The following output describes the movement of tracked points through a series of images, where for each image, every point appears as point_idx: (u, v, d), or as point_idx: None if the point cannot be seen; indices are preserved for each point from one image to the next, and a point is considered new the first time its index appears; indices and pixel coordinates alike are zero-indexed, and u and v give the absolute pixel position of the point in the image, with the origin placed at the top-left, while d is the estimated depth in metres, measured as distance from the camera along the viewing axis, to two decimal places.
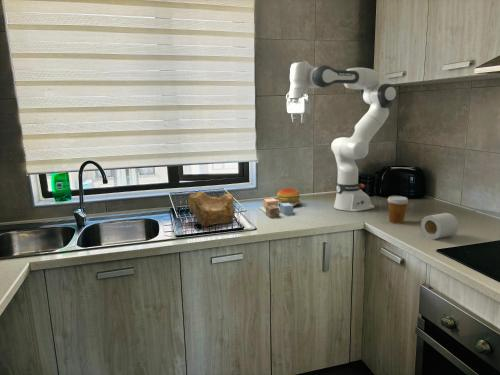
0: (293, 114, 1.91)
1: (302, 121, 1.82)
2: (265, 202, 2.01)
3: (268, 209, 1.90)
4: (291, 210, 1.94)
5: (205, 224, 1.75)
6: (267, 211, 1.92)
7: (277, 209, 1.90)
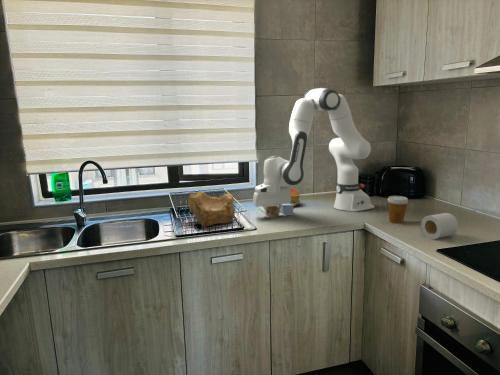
0: None
1: None
2: None
3: (268, 209, 1.90)
4: (291, 210, 1.94)
5: (205, 224, 1.75)
6: None
7: (277, 209, 1.89)
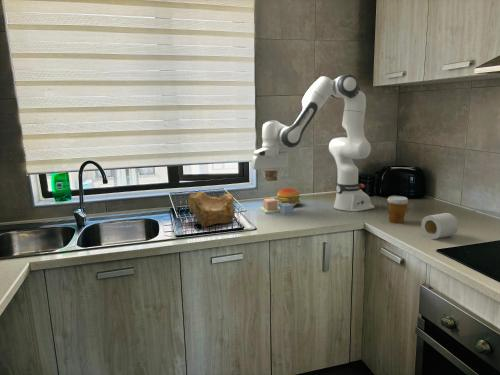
0: None
1: None
2: (265, 202, 2.01)
3: (266, 172, 1.97)
4: (291, 210, 1.94)
5: (205, 224, 1.75)
6: None
7: (275, 172, 1.96)
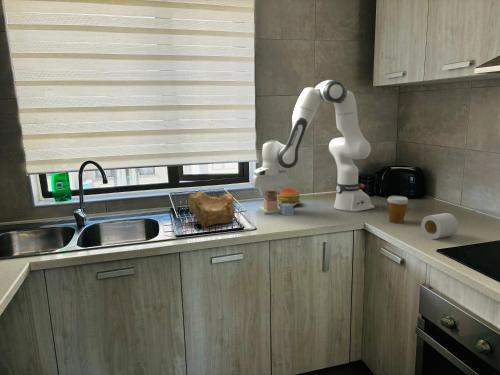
0: None
1: None
2: (265, 202, 2.01)
3: (266, 193, 1.99)
4: (291, 210, 1.94)
5: (205, 224, 1.75)
6: (265, 195, 2.01)
7: (275, 193, 1.98)
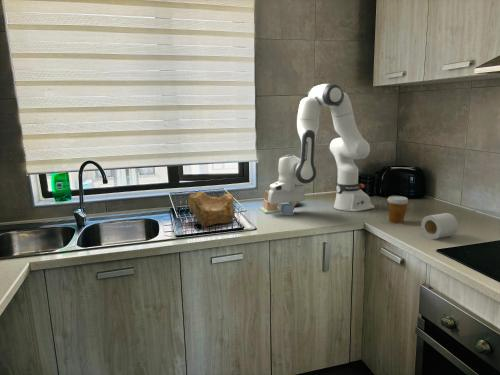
0: None
1: None
2: (265, 202, 2.01)
3: (266, 193, 1.99)
4: (291, 209, 1.94)
5: (205, 224, 1.75)
6: (265, 195, 2.01)
7: None
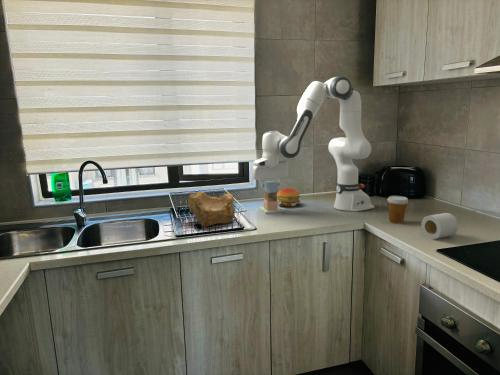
0: None
1: None
2: (265, 202, 2.01)
3: (266, 193, 1.99)
4: (275, 187, 1.97)
5: (205, 224, 1.75)
6: (265, 195, 2.01)
7: (275, 193, 1.98)
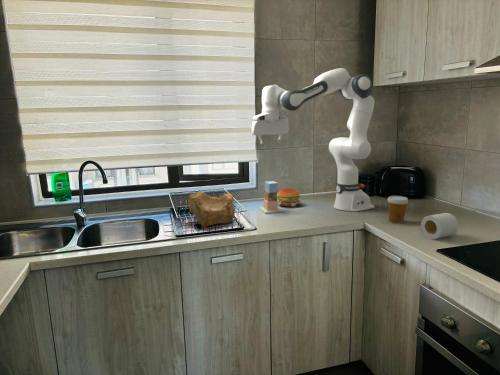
0: None
1: None
2: (265, 202, 2.01)
3: (266, 193, 1.99)
4: (275, 187, 1.97)
5: (205, 224, 1.75)
6: (265, 195, 2.01)
7: (275, 193, 1.98)
